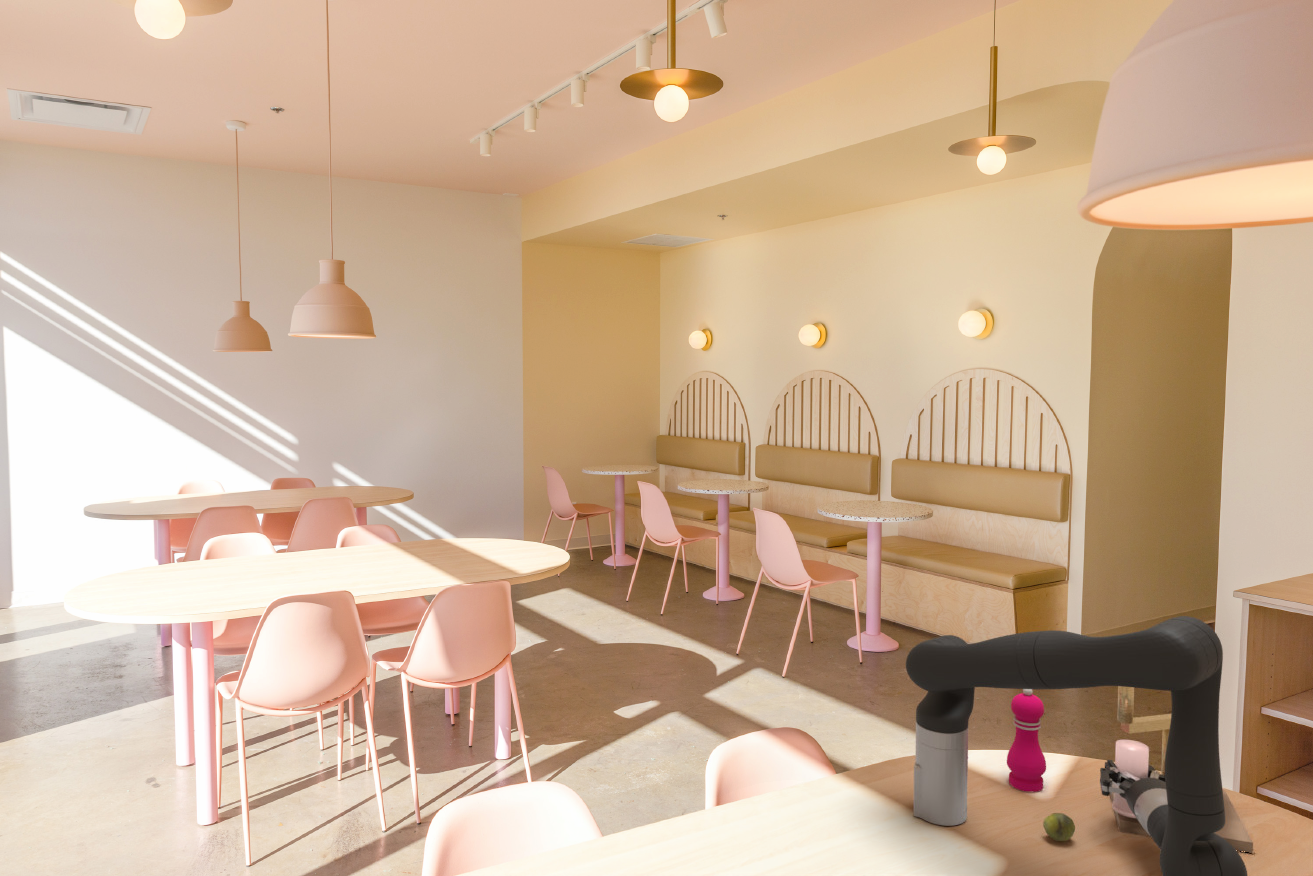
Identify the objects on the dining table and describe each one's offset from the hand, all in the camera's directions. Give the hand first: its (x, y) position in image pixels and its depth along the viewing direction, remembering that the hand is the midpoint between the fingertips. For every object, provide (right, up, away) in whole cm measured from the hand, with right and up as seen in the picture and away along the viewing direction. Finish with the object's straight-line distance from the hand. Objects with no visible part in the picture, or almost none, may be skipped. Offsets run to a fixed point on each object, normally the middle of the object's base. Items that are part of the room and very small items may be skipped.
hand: (1126, 766), depth 155 cm
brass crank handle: (+8, -6, +6) cm, 12 cm away
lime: (-15, -11, -6) cm, 20 cm away
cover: (0, -7, -2) cm, 7 cm away
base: (+10, -10, +2) cm, 14 cm away
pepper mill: (-12, -9, +14) cm, 21 cm away
